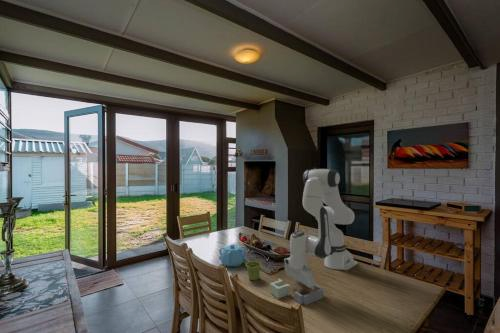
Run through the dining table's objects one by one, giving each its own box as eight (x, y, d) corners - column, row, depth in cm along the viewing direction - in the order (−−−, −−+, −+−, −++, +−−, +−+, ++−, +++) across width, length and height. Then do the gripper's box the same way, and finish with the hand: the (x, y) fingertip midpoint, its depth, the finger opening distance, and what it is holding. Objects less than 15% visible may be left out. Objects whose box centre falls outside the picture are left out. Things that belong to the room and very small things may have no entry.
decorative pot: (225, 271, 162) (224, 250, 162) (218, 262, 176) (217, 243, 176) (248, 266, 168) (247, 246, 168) (239, 258, 183) (238, 240, 183)
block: (307, 292, 130) (307, 281, 129) (311, 299, 124) (311, 288, 123) (296, 293, 129) (296, 282, 129) (299, 300, 124) (299, 289, 123)
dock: (316, 291, 132) (316, 284, 132) (325, 297, 126) (325, 289, 126) (294, 300, 124) (294, 292, 124) (303, 306, 119) (302, 297, 119)
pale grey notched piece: (298, 281, 144) (298, 272, 144) (309, 287, 136) (309, 278, 136) (268, 291, 133) (268, 282, 133) (278, 299, 125) (278, 289, 125)
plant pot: (248, 283, 144) (248, 268, 144) (244, 276, 153) (244, 262, 153) (263, 280, 146) (263, 265, 146) (259, 274, 155) (258, 260, 155)
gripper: (317, 268, 124) (318, 295, 124) (291, 256, 142) (292, 280, 142) (307, 271, 121) (308, 299, 121) (282, 258, 139) (283, 283, 139)
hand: (299, 288), depth 132 cm, fingers closed
